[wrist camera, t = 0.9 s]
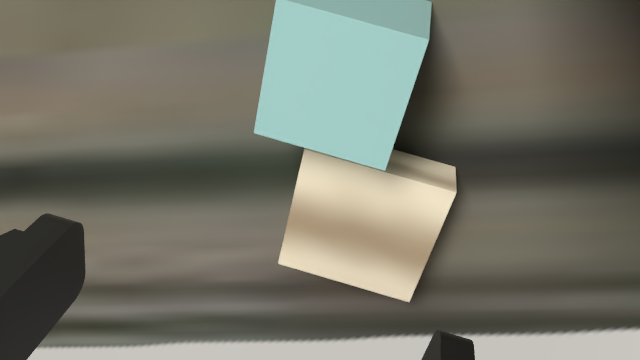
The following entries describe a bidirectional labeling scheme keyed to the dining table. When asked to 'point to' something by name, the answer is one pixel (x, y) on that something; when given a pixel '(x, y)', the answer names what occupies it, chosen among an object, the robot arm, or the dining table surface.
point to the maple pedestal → (367, 220)
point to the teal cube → (342, 74)
